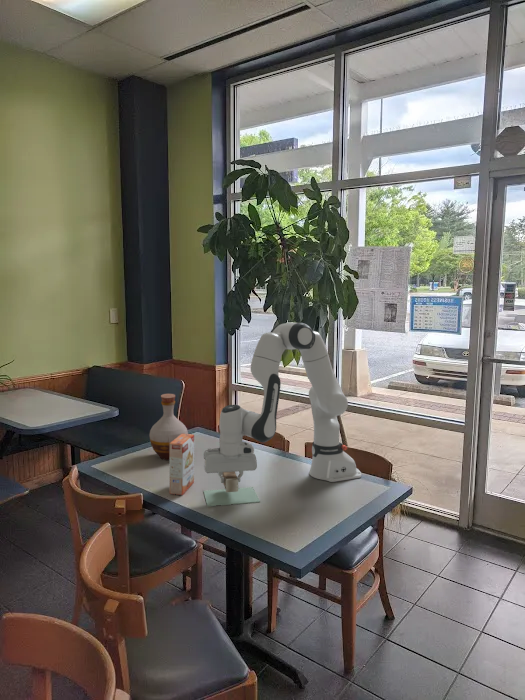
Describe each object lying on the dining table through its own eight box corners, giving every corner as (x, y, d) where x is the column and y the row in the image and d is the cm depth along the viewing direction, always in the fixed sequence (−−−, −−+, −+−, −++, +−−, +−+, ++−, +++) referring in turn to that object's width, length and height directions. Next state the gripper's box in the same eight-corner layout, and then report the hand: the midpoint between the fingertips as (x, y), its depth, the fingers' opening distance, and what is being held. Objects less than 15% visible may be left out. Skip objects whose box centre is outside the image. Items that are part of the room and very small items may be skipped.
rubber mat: (252, 488, 213) (252, 487, 213) (260, 502, 199) (260, 501, 199) (203, 491, 209) (203, 490, 209) (207, 506, 195) (207, 505, 195)
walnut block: (233, 468, 210) (238, 480, 199) (233, 479, 211) (238, 491, 199) (222, 469, 209) (226, 480, 198) (222, 480, 210) (226, 492, 198)
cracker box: (183, 496, 204) (183, 444, 202) (169, 494, 206) (168, 443, 203) (195, 482, 218) (194, 433, 215) (181, 481, 219) (180, 432, 216)
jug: (147, 451, 256) (146, 391, 252) (184, 448, 262) (183, 389, 258) (151, 465, 238) (150, 400, 234) (191, 461, 243) (190, 398, 239)
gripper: (204, 451, 196) (204, 486, 198) (258, 448, 200) (257, 483, 202) (202, 446, 202) (202, 480, 204) (254, 443, 207) (254, 477, 208)
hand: (230, 482), depth 203 cm, fingers closed on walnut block, 4 cm apart
